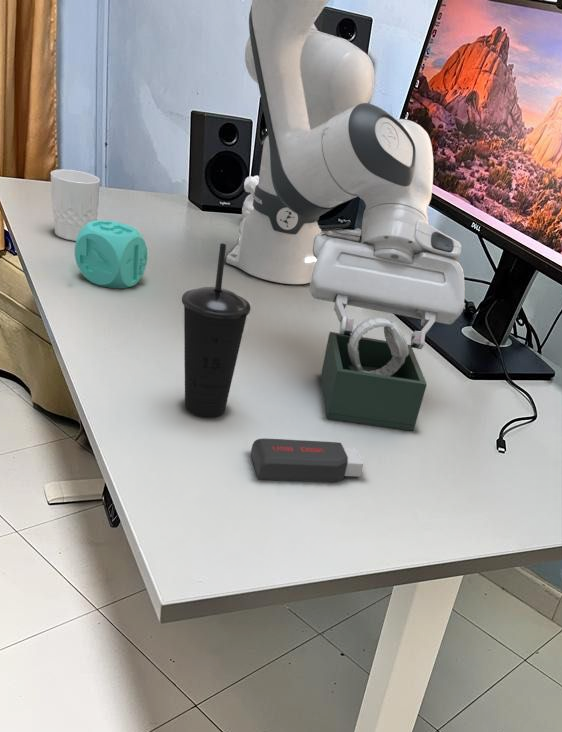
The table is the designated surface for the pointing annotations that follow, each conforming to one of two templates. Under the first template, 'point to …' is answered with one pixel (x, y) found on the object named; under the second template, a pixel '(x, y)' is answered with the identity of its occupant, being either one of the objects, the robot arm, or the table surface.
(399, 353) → the watch
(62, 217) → the white cup
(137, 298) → the table surface
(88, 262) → the decorative dice
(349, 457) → the usb drive
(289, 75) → the robot arm
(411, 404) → the open box
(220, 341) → the drinking cup
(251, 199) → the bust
